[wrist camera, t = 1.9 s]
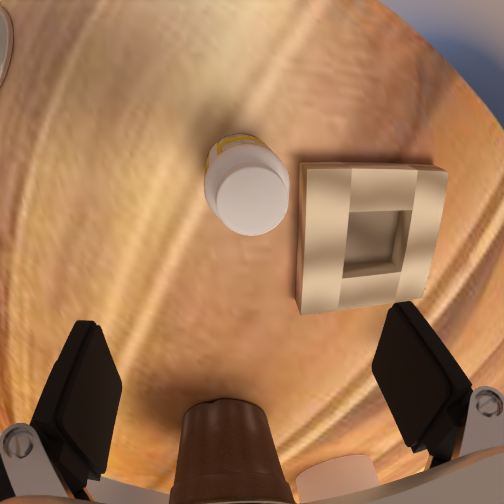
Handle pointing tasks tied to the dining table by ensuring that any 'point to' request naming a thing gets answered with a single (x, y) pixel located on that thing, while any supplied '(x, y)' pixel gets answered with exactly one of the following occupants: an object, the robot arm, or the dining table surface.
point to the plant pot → (228, 457)
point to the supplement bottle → (246, 184)
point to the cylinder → (336, 478)
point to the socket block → (365, 233)
